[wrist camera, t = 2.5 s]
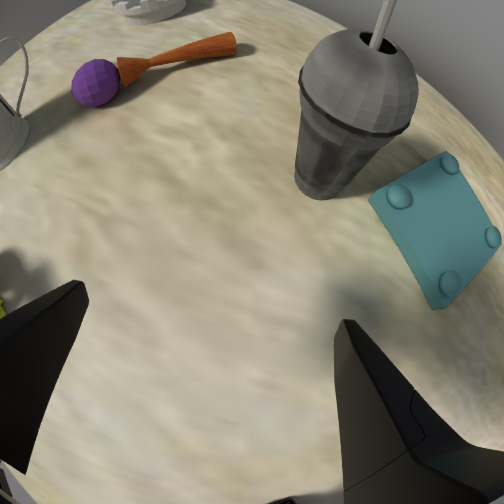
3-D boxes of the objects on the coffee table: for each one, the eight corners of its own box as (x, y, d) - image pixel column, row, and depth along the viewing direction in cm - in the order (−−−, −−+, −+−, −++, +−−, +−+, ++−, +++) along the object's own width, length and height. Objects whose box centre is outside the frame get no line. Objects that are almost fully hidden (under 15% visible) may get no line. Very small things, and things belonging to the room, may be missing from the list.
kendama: (243, 41, 26) (65, 97, 22) (237, 73, 31) (83, 123, 28) (226, 14, 26) (64, 63, 22) (222, 45, 32) (79, 90, 28)
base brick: (490, 248, 24) (506, 241, 22) (432, 309, 23) (449, 307, 20) (437, 159, 27) (449, 147, 24) (367, 200, 25) (379, 186, 22)
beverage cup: (368, 176, 26) (481, 9, 6) (330, 231, 24) (476, 39, 5) (307, 133, 27) (359, -55, 7) (262, 182, 25) (288, -50, 6)
